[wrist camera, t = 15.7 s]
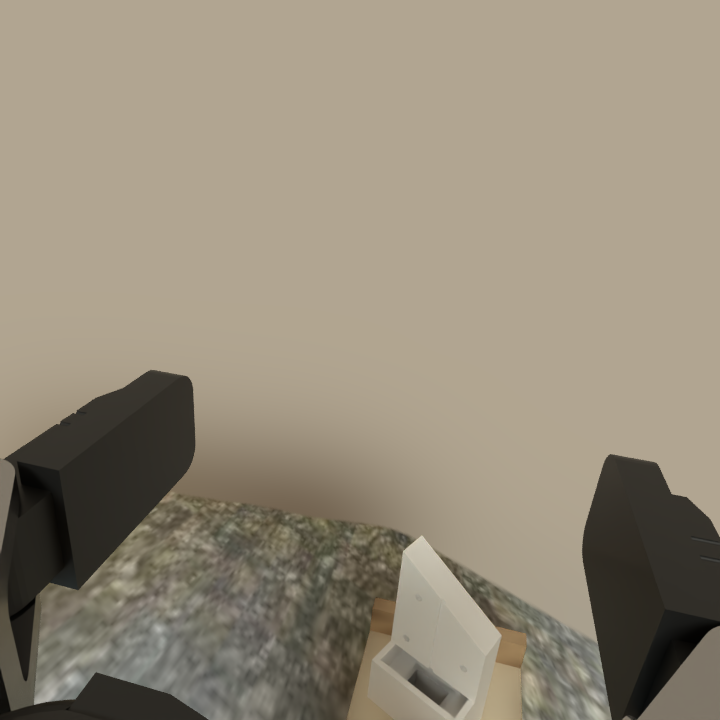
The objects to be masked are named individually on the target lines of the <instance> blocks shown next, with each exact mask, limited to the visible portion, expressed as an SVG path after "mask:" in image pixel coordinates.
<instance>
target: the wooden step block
mask: <svg viewBox="0 0 720 720" xmlns="http://www.w3.org/2000/svg"><path fill="white" fill-rule="evenodd" d="M395 607H396V602H394V601H389V600H385V599H381V598H377V597H376V598H375V602H374V605H373V610H372V618H371V627H370V632H369V636H368V640H367V644H366V647H365V651H364V655H363V659H362V663H361V666H360V670H359V674H358V678H357V681H356V685H355V689H354V693H353V696H352V700H351V704H350V708H349V711H348V715H347V719H346V720H394V719H393V718H392V717H390V716H389V715H388V714H387V713H386V712H385V711H383V710H382V709H381V708H380V707H379V706H378V705H376V704H375V703H374V702H373V701H372V700H370V699H369V698H368V697H367V695H368V687H369V679H370V670H371V662H372V659H373V658H374V657H375V656H376V655H377V654H378V653H379V652H380V651H381V650H382V649H383V648H384V647H385V646H386V645H387V644H388V643H389V642H390V641H391V636H392V629H393V621H394V614H395ZM495 628H496V629H497V630H498V631H499V633H500V634H501V635H502V636H501V640H500V644H499V649H498V653H497V657H496V661H495V665H494V669H493V673H492V677H491V681H490V685H489V689H488V693H487V697H486V701H485V705H484V709H483V713H482V717H481V719H480V720H522V699H521V665H522V661H523V658H524V654H525V650H526V647H527V645H526V634H525V633H521V632H517V631H513V630H509V629H505V628H500V627H496V626H495Z"/></svg>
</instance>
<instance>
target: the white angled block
mask: <svg viewBox="0 0 720 720" xmlns="http://www.w3.org/2000/svg"><path fill="white" fill-rule="evenodd" d="M501 636H502V635H501V634H500V633H499V631H498V630H497V629H496V628H495V626H494V625H493V624H492V622H491V621H490V620H489V619H488V617H487V616H486V615H485V614H484V612H483V611H482V610H481V609H480V607H479V606H478V605H477V604H476V602H475V601H474V600H473V599H472V597H471V596H470V595H469V594H468V592H467V591H466V590H465V589H464V587H463V586H462V585H461V584H460V582H459V581H458V580H457V579H456V577H455V576H454V575H453V574H452V572H451V571H450V570H449V569H448V567H447V566H446V565H445V564H444V562H443V561H442V560H441V558H440V557H439V556H438V555H437V553H436V552H435V551H434V550H433V548H432V547H431V546H430V545H429V543H428V542H427V541H426V540H425V538H424V537H423V536H421V537H419V538H418V539H417V540H416V541H414V542H413V543H412V544H411V545H410V546H409V547H407V548H406V549H405V550H404V551H403V556H402V564H401V571H400V578H399V585H398V593H397V600H396V607H395V614H394V621H393V629H392V636H391V641H390V642H389V643H388V644H387V645H386V646H385V647H384V648H383V649H382V650H381V651H380V652H379V653H378V654H377V655H376V656H375V657H374V658H373V659H372V662H371V670H370V679H369V687H368V695H367V697H368V698H369V699H370V700H372V701H373V702H374V703H375V704H376V705H378V706H379V707H380V708H381V709H382V710H383V711H385V712H386V713H387V714H388V715H389V716H390V717H392V718H393V719H394V720H480V719H481V717H482V713H483V709H484V705H485V701H486V697H487V693H488V689H489V685H490V681H491V677H492V673H493V669H494V665H495V661H496V657H497V653H498V649H499V644H500V640H501Z"/></svg>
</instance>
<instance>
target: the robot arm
mask: <svg viewBox="0 0 720 720" xmlns="http://www.w3.org/2000/svg"><path fill="white" fill-rule="evenodd" d="M194 452H195V424H194V402H193V387H192V382H191V380H190V379H189V378H188V377H187V376H183V375H177V374H171V373H166V372H161V371H155V370H150V371H148V372H146V373H145V374H143V375H142V376H140V377H139V378H137V379H136V380H134V381H133V382H131V383H130V384H129V385H127V386H126V387H124V388H123V389H120V390H117V391H114V392H111V393H109V394H106V395H103V396H100V397H97V398H95V399H94V400H92V401H91V402H89V403H88V404H86V405H85V406H83V407H82V408H80V409H79V410H77V413H76V414H74V413H73V414H71V415H70V416H68V417H66V418H65V419H63V420H62V421H61V423H60V425H58V424H56V425H54V426H53V427H51V428H50V429H48V430H47V431H45V432H44V433H42V434H41V435H39V436H38V437H36V438H35V439H33V440H32V441H31V442H29V443H27V444H26V445H25V446H23V447H21V448H20V449H18V450H17V451H15V452H14V453H12V454H11V455H9V456H8V457H6V458H5V459H0V720H208V719H207V718H205V717H204V716H202V715H201V714H199V713H198V712H196V711H195V710H193V709H192V708H190V707H189V706H187V705H186V704H184V703H183V702H181V701H180V700H178V699H177V698H175V697H174V696H172V695H171V694H167V693H164V692H161V691H157V690H154V689H150V688H147V687H144V686H140V685H137V684H134V683H130V682H127V681H123V680H120V679H117V678H113V677H110V676H106V675H103V674H100V673H95V674H94V676H93V677H92V678H91V680H90V681H89V682H88V684H87V685H86V686H85V688H84V689H83V690H82V692H81V693H80V694H79V696H78V697H77V698H76V700H62V701H52V702H45V703H41V704H36V705H34V693H35V681H36V669H37V657H38V645H39V632H40V620H41V599H40V594H39V593H40V592H41V591H42V590H43V589H44V588H45V587H46V586H47V585H48V584H49V583H54V584H57V585H61V586H65V587H69V588H72V589H76V590H79V589H80V588H81V586H82V585H83V584H84V583H85V582H86V581H87V580H88V579H89V578H90V577H91V576H92V575H93V573H94V572H95V571H96V570H97V569H98V568H99V567H100V566H101V565H102V564H103V563H104V561H105V560H106V559H107V558H108V557H109V556H110V555H111V554H112V553H113V552H114V551H115V550H116V548H117V547H118V546H119V545H120V544H121V543H122V542H123V541H124V540H125V539H126V538H127V536H128V535H129V534H130V533H131V532H132V531H133V530H134V529H135V528H136V527H137V526H138V525H139V523H140V522H141V521H142V520H143V519H144V518H145V517H146V516H147V515H148V514H149V513H150V511H151V510H152V509H153V508H154V507H155V506H156V505H157V504H158V503H159V502H160V501H161V500H162V498H163V497H164V496H165V495H166V494H167V493H168V492H169V491H170V490H171V488H173V486H174V485H175V484H176V483H177V482H178V481H179V480H180V479H181V478H182V477H183V475H184V474H185V473H186V472H187V470H188V469H189V467H190V465H191V462H192V459H193V456H194ZM582 547H583V548H582V555H583V563H584V569H585V575H586V580H587V586H588V591H589V597H590V602H591V608H592V613H593V619H594V624H595V629H596V635H597V641H598V646H599V651H600V657H601V662H602V668H603V673H604V679H605V684H606V690H607V695H608V701H609V706H610V712H611V717H612V720H720V537H719V535H718V533H717V531H716V529H715V527H714V526H713V524H712V522H711V520H710V519H709V518H708V517H707V516H706V515H705V514H704V513H703V512H702V511H701V510H700V509H698V507H696V506H695V505H694V504H693V503H692V502H691V501H690V500H689V499H688V498H687V497H682V496H678V495H672V494H671V492H670V490H669V488H668V485H667V483H666V481H665V479H664V477H663V475H662V472H661V470H660V468H659V466H658V464H657V463H655V462H650V461H644V460H639V459H634V458H628V457H622V456H617V455H611V454H610V455H609V456H608V457H607V458H606V460H605V462H604V465H603V468H602V471H601V474H600V478H599V481H598V484H597V488H596V491H595V494H594V498H593V501H592V505H591V508H590V512H589V515H588V518H587V521H586V525H585V530H584V536H583V546H582Z"/></svg>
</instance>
